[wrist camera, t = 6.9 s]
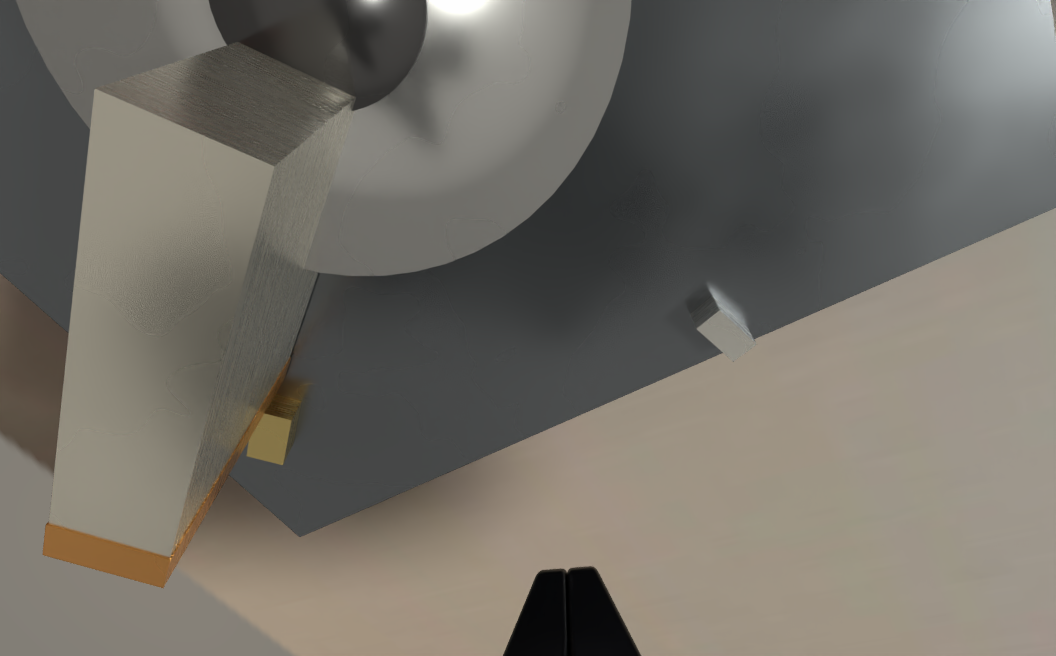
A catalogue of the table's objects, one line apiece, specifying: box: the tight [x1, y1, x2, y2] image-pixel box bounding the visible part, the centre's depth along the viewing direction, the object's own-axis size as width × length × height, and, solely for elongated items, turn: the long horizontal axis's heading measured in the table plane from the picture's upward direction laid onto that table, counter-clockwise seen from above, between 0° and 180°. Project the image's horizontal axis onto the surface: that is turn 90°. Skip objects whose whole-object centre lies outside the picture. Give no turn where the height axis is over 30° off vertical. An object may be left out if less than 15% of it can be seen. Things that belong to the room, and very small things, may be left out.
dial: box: [16, 0, 631, 588], centre depth 7 cm, size 10×7×4 cm
